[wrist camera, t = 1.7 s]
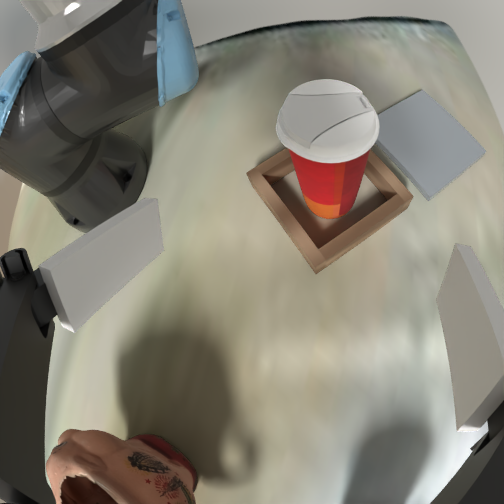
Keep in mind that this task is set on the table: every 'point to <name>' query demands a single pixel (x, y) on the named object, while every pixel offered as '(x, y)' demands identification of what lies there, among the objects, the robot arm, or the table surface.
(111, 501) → the decorative planter
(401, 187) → the walnut collar
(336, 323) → the table surface
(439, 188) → the slate pad
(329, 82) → the paper cup
